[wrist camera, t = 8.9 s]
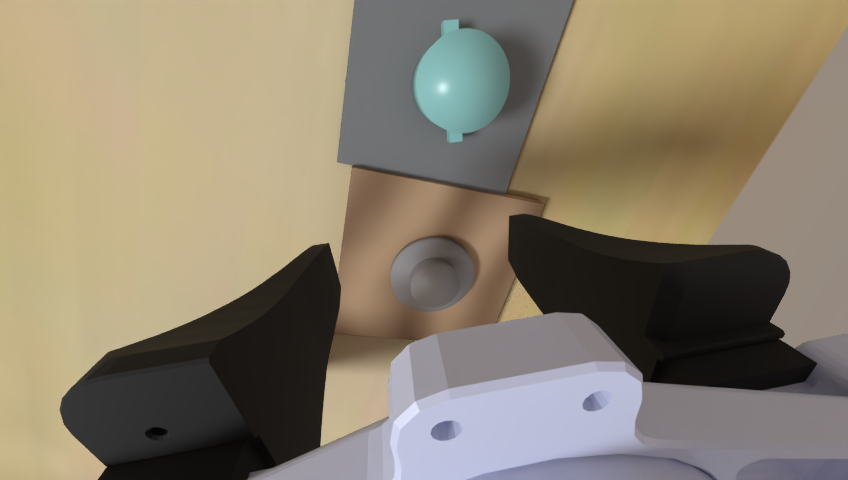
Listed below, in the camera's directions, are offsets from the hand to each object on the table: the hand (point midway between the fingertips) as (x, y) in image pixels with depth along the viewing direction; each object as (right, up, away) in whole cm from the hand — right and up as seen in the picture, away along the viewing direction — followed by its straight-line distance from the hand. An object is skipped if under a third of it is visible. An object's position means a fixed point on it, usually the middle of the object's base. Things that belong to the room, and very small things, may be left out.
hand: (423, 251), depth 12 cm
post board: (+1, -2, +13) cm, 13 cm away
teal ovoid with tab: (+2, +10, +6) cm, 12 cm away
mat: (+2, +10, +7) cm, 12 cm away
